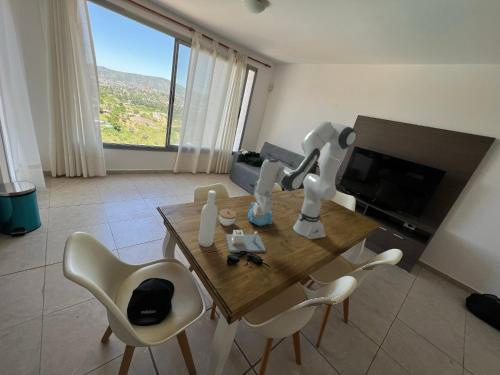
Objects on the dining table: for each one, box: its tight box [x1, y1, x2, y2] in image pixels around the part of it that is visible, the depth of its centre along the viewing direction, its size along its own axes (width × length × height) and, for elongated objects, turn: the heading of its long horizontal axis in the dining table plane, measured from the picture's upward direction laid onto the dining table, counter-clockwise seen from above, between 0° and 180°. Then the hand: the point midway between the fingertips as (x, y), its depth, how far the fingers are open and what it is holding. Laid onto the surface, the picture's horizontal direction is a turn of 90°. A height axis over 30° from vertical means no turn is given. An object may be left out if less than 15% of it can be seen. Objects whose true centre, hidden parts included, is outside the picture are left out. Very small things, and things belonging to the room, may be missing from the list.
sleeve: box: [252, 201, 265, 217], centre depth 113 cm, size 6×6×6 cm
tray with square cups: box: [225, 231, 266, 253], centre depth 114 cm, size 20×14×8 cm
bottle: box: [197, 189, 218, 248], centre depth 105 cm, size 8×8×30 cm
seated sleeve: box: [231, 229, 244, 245], centre depth 113 cm, size 6×6×6 cm
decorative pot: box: [247, 202, 274, 227], centre depth 139 cm, size 16×16×14 cm
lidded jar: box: [218, 208, 237, 227], centre depth 129 cm, size 11×11×9 cm
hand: (259, 211), depth 113 cm, fingers closed on sleeve, 5 cm apart
